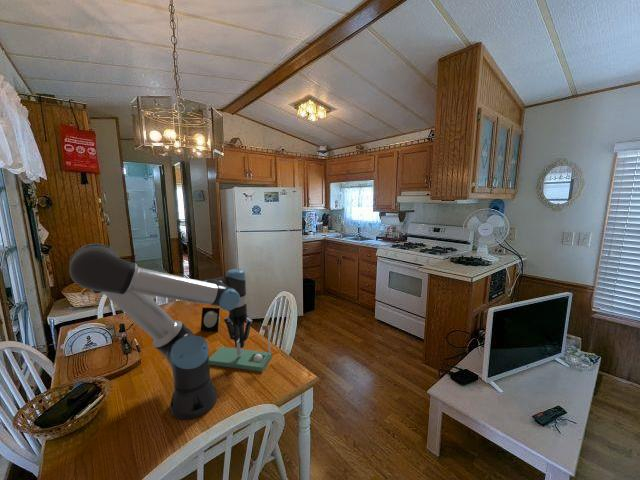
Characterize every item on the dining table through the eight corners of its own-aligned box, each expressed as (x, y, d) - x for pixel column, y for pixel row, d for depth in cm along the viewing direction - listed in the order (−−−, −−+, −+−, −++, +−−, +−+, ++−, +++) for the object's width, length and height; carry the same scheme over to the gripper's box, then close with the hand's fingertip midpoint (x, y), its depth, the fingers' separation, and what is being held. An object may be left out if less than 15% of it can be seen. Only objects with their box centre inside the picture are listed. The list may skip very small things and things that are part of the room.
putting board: (262, 371, 116) (261, 336, 113) (207, 364, 121) (205, 330, 118) (272, 356, 126) (271, 324, 124) (221, 350, 131) (219, 319, 129)
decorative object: (207, 328, 158) (223, 329, 157) (197, 332, 147) (215, 333, 146) (209, 305, 159) (225, 306, 158) (199, 308, 149) (217, 308, 148)
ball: (258, 366, 120) (261, 358, 119) (250, 362, 120) (253, 355, 120) (262, 362, 123) (265, 354, 123) (255, 358, 124) (257, 350, 124)
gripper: (255, 302, 122) (257, 350, 125) (228, 299, 124) (231, 347, 128) (247, 308, 114) (249, 360, 118) (219, 306, 117) (222, 356, 121)
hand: (240, 353), depth 123 cm, fingers closed
